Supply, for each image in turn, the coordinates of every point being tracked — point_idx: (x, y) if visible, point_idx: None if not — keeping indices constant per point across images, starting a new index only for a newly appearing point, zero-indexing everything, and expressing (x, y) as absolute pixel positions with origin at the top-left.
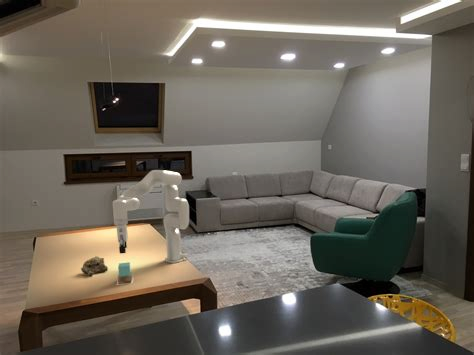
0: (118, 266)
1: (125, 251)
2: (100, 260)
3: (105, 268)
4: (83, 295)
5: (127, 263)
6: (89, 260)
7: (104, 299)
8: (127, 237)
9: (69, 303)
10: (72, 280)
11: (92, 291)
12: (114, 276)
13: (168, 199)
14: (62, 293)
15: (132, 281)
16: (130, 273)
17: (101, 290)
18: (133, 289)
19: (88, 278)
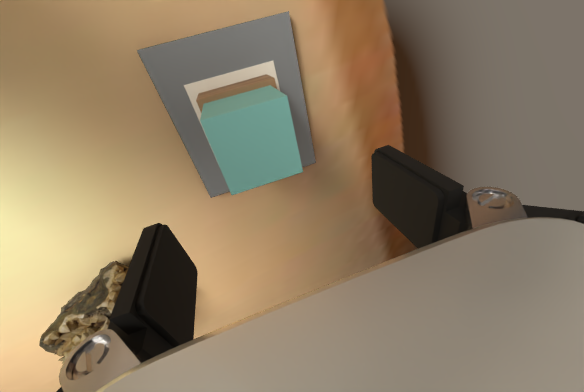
0: (296, 173)
1: (396, 150)
2: (87, 333)
3: (125, 273)
4: (349, 222)
5: (230, 131)
6: None
7: (398, 140)
8: (332, 367)
9: (394, 228)
10: (223, 312)
11: (321, 212)
12: (156, 205)
13: None
14: (323, 279)
15: (245, 72)
16: (227, 96)
17: (316, 187)
18: (325, 39)
19: (198, 283)
